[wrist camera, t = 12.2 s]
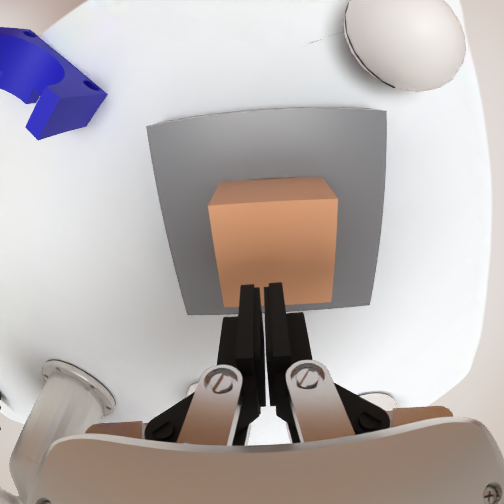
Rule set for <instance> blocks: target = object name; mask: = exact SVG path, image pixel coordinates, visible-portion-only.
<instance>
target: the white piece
mask: <svg viewBox="0 0 504 504" xmlns="http://www.w3.org/2000/svg"><path fill="white" fill-rule="evenodd" d="M343 21H344V33H345V38H346V40H347V43H348V45H349V48H350V50H351V53H352V54H353V55H354V57H355V58H356V59H357V61H358V62H359V63H360V65H361V66H362V67H363V68H364V69H365V70H366V71H367V72H369V73H370V74H371V75H372V76H373V77H375V78H376V79H377V80H379V81H382V82H384V83H385V84H387V85H389V86H391V87H393V88H398V89H401V90H407V91H413V92H421V91H427V90H432V89H436V88H440V87H441V86H443V85H445V84H446V83H448V82H449V81H451V80H452V79H453V78H454V76H455V75H456V73H457V72H458V70H459V69H460V67H461V65H462V64H463V61H464V57H465V52H466V45H465V35H464V32H463V30H462V27H461V24H460V22H459V20H458V18H457V16H456V15H455V13H454V12H453V10H452V9H451V7H450V6H449V5H448V4H447V3H446V2H445V1H444V0H350V1H349V3H348V5H347V8H346V13H345V17H344V20H343ZM340 33H341V32H340ZM336 34H337V33H336ZM333 35H334V34H333ZM330 36H331V35H330ZM320 40H321V39H320ZM317 41H318V40H317ZM314 42H315V41H314ZM309 44H310V43H309Z"/></svg>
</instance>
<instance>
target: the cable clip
mask: <svg viewBox="0 0 504 504" xmlns="http://www.w3.org/2000/svg"><path fill="white" fill-rule="evenodd" d="M0 89H3V90H5V91H7V92H9V93H11V94H13V95H15V96H16V97H18V98H19V99H21V100H22V101H23V102H24V103H25V104H30V103H36V102H37V100H38V98H39V96H40V98H39V100H38V102H37V104H36V106H35V108H34V110H33V112H32V114H31V116H30V118H29V120H28V123H27V125H26V128H27V129H28V131H29V132H30V133H31V134H32V135H33V136H34V137H35V138H36V139H37V140H41V139H44V138H47V137H50V136H53V135H57V134H60V133H63V132H67V131H70V130H74V129H78V128H82V127H86V126H87V124H88V123H89V121H90V120H91V118H92V117H93V115H94V114H95V112H96V110H97V109H98V107H99V106H100V105H101V103H102V102H103V100H104V99H105V97H106V96H107V95H108V94H106V93H105V92H104V91H103V90H102V89H101V88H99V87H98V86H97V85H96V84H95V83H94V82H92V81H91V80H90V79H89V78H88V77H86V76H85V75H84V74H83V73H82V72H80V71H79V70H78V69H77V68H76V67H74V66H73V65H72V64H71V63H70V62H68V61H67V60H66V59H65V58H64V57H62V56H61V55H60V54H59V53H57V52H56V51H55V50H54V49H53V48H51V47H50V46H49V45H48V44H46V43H45V42H44V41H43V40H41V39H40V38H39V37H38V35H36V34H35V33H34V32H33V31H31V30H27V29H18V28H5V27H0Z"/></svg>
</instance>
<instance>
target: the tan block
mask: <svg viewBox="0 0 504 504" xmlns="http://www.w3.org/2000/svg"><path fill="white" fill-rule="evenodd" d="M208 210H209V217H210V224H211V230H212V237H213V243H214V249H215V256H216V262H217V268H218V274H219V280H220V286H221V292H222V298H223V303H224V307H239V299H240V287H241V285H247V284H254V287H260V298H261V306H264V287H269V283H276V282H282V286H283V294H284V301H285V305H294V304H310V303H325V302H331V300H332V289H333V278H334V265H335V251H336V234H337V212H338V198H337V197H336V195H335V194H334V193H333V191H332V190H331V188H330V187H329V185H328V184H327V183H326V181H325V180H324V178H323V177H296V178H267V179H257V180H242V181H229V182H220V183H219V185H218V187H217V189H216V191H215V193H214V195H213V197H212V199H211V201H210V203H209V205H208Z"/></svg>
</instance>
